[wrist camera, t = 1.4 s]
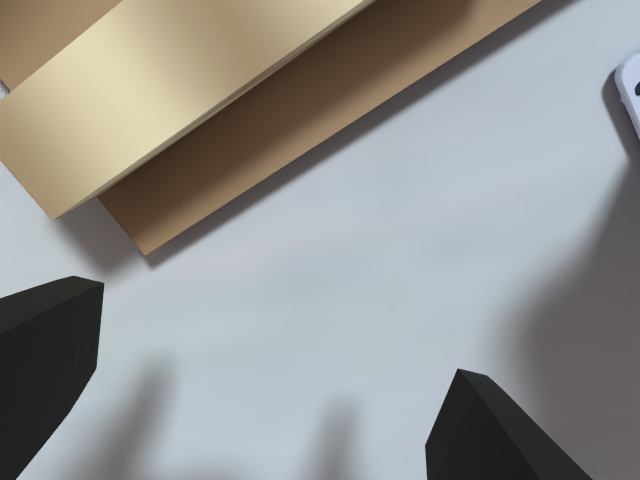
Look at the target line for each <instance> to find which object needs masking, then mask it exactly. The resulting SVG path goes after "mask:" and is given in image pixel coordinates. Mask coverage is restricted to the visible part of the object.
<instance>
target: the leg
mask: <svg viewBox="0 0 640 480" xmlns="http://www.w3.org/2000/svg"><path fill="white" fill-rule="evenodd" d="M375 1H377V0H123V1H121V2H120V3H119V4H118V5H117V6H115V7H114V8H113V9H112V10H110V11H109V12H108V13H107V14H106V15H104V16H103V17H102V18H101V19H99V20H98V21H97V22H96V23H95V24H93V25H92V26H91V27H90V28H88V29H87V30H86V31H85V32H84V33H82V34H81V35H80V36H79V37H77V38H76V39H75V40H74V41H73V42H71V43H70V44H69V45H68V46H66V47H65V48H64V49H63V50H62V51H60V52H59V53H58V54H57V55H55V56H54V57H53V58H52V59H51V60H49V61H48V62H47V63H46V64H44V65H43V66H42V67H41V68H39V69H38V70H37V71H36V72H35V73H33V74H32V75H31V76H30V77H28V78H27V79H26V80H25V81H24V82H22V83H21V84H20V85H19V86H17V87H16V88H15V89H14V90H13V91H11V92H10V93H9V94H8V95H6V96H5V97H4V98H3V99H2V100H0V161H1V162H2V163H3V164H4V165H5V167H6V168H7V169H8V170H9V171H10V172H11V174H12V175H13V176H14V177H15V178H16V179H17V180H18V182H19V183H20V184H21V185H22V186H23V187H24V189H25V190H26V191H27V192H28V193H29V194H30V196H31V197H32V198H33V199H34V200H35V201H36V203H37V204H38V205H39V206H40V207H41V208H42V210H43V211H44V212H45V213H46V214H47V215H48V216H49V218H50V219H51V220H52V221H53V220H55V219H57V218H58V217H60V216H62V215H64V214H66V213H67V212H69V211H71V210H73V209H75V208H76V207H78V206H80V205H82V204H84V203H85V202H87V201H89V200H91V199H93V198H94V197H96V196H98V195H100V194H102V193H103V192H105V191H106V190H108V189H109V188H111V187H112V186H113V185H115V184H116V183H118V182H119V181H121V180H122V179H123V178H125V177H126V176H128V175H129V174H131V173H132V172H133V171H135V170H136V169H138V168H139V167H141V166H142V165H143V164H145V163H146V162H148V161H149V160H150V159H152V158H153V157H155V156H156V155H158V154H159V153H160V152H162V151H163V150H165V149H166V148H168V147H169V146H170V145H172V144H173V143H175V142H176V141H177V140H179V139H180V138H182V137H183V136H185V135H186V134H187V133H189V132H190V131H192V130H193V129H195V128H196V127H197V126H199V125H200V124H202V123H203V122H205V121H206V120H207V119H209V118H210V117H212V116H213V115H214V114H216V113H217V112H219V111H220V110H222V109H223V108H224V107H226V106H227V105H229V104H230V103H232V102H233V101H234V100H236V99H237V98H239V97H240V96H242V95H243V94H244V93H246V92H247V91H249V90H250V89H251V88H253V87H254V86H256V85H257V84H259V83H260V82H261V81H263V80H264V79H266V78H267V77H269V76H270V75H271V74H273V73H274V72H276V71H277V70H279V69H280V68H281V67H283V66H284V65H286V64H287V63H288V62H290V61H291V60H293V59H294V58H296V57H297V56H298V55H300V54H301V53H303V52H304V51H306V50H307V49H308V48H310V47H311V46H313V45H314V44H316V43H317V42H318V41H320V40H321V39H323V38H324V37H325V36H327V35H328V34H330V33H331V32H333V31H334V30H335V29H337V28H338V27H340V26H341V25H343V24H344V23H345V22H347V21H348V20H350V19H351V18H353V17H354V16H355V15H357V14H358V13H360V12H361V11H362V10H364V9H365V8H367V7H368V6H370V5H371V4H372V3H374V2H375Z"/></svg>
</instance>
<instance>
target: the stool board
mask: <svg viewBox="0 0 640 480" xmlns="http://www.w3.org/2000/svg"><path fill="white" fill-rule="evenodd" d="M121 1H123V0H0V79H1V80H2V81H3V82H4V84H5V85H6V86H7V87H8V88H9V90H10V91H13V90H14V89H15V88H16V87H17V86H19V85H20V84H21V83H22V82H24V81H25V80H26V79H27V78H28V77H30V76H31V75H32V74H33V73H35V72H36V71H37V70H38V69H39V68H41V67H42V66H43V65H44V64H46V63H47V62H48V61H49V60H51V59H52V58H53V57H54V56H55V55H57V54H58V53H59V52H60V51H62V50H63V49H64V48H65V47H66V46H68V45H69V44H70V43H71V42H73V41H74V40H75V39H76V38H77V37H79V36H80V35H81V34H82V33H84V32H85V31H86V30H87V29H88V28H90V27H91V26H92V25H93V24H95V23H96V22H97V21H98V20H99V19H101V18H102V17H103V16H104V15H106V14H107V13H108V12H109V11H110V10H112V9H113V8H114V7H115V6H117V5H118V4H119V3H120V2H121ZM540 1H541V0H377V1H375V2H374V3H372V4H371V5H370V6H368V7H367V8H365V9H364V10H362V11H361V12H360V13H358V14H357V15H355V16H354V17H353V18H351V19H350V20H348V21H347V22H345V23H344V24H343V25H341V26H340V27H338V28H337V29H335V30H334V31H333V32H331V33H330V34H328V35H327V36H325V37H324V38H323V39H321V40H320V41H318V42H317V43H316V44H314V45H313V46H311V47H310V48H308V49H307V50H306V51H304V52H303V53H301V54H300V55H298V56H297V57H296V58H294V59H293V60H291V61H290V62H288V63H287V64H286V65H284V66H283V67H281V68H280V69H279V70H277V71H276V72H274V73H273V74H271V75H270V76H269V77H267V78H266V79H264V80H263V81H261V82H260V83H259V84H257V85H256V86H254V87H253V88H251V89H250V90H249V91H247V92H246V93H244V94H243V95H242V96H240V97H239V98H237V99H236V100H234V101H233V102H232V103H230V104H229V105H227V106H226V107H224V108H223V109H222V110H220V111H219V112H217V113H216V114H214V115H213V116H212V117H210V118H209V119H207V120H206V121H205V122H203V123H202V124H200V125H199V126H197V127H196V128H195V129H193V130H192V131H190V132H189V133H187V134H186V135H185V136H183V137H182V138H180V139H179V140H177V141H176V142H175V143H173V144H172V145H170V146H169V147H168V148H166V149H165V150H163V151H162V152H160V153H159V154H158V155H156V156H155V157H153V158H152V159H150V160H149V161H148V162H146V163H145V164H143V165H142V166H141V167H139V168H138V169H136V170H135V171H133V172H132V173H131V174H129V175H128V176H126V177H125V178H123V179H122V180H121V181H119V182H118V183H116V184H115V185H113V186H112V187H111V188H109V189H108V190H106V191H105V192H103V193H102V194H100V195H98V196H97V197H98V199H99V200H100V201H101V202H102V204H103V205H104V206H105V207H106V209H107V210H108V211H109V212H110V213H111V215H112V216H113V217H114V218H115V220H116V221H117V222H118V223H119V224H120V226H121V227H122V228H123V229H124V231H125V232H126V233H127V234H128V235H129V237H130V238H131V239H132V240H133V242H134V243H135V244H136V245H137V246H138V248H139V249H140V250H141V251H142V253H143V254H144V255H145V256H146V255H147V254H149V253H150V252H152V251H153V250H155V249H156V248H158V247H160V246H161V245H163V244H164V243H166V242H167V241H169V240H170V239H172V238H174V237H175V236H177V235H178V234H180V233H181V232H183V231H184V230H186V229H187V228H189V227H191V226H192V225H194V224H195V223H197V222H198V221H200V220H201V219H203V218H205V217H206V216H208V215H209V214H211V213H212V212H214V211H215V210H217V209H219V208H220V207H222V206H223V205H225V204H226V203H228V202H229V201H231V200H232V199H234V198H236V197H237V196H239V195H240V194H242V193H243V192H245V191H246V190H248V189H250V188H251V187H253V186H254V185H256V184H257V183H259V182H260V181H262V180H264V179H265V178H267V177H268V176H270V175H271V174H273V173H274V172H276V171H277V170H279V169H281V168H282V167H284V166H285V165H287V164H288V163H290V162H291V161H293V160H295V159H296V158H298V157H299V156H301V155H302V154H304V153H305V152H307V151H309V150H310V149H312V148H313V147H315V146H316V145H318V144H319V143H321V142H322V141H324V140H326V139H327V138H329V137H330V136H332V135H333V134H335V133H336V132H338V131H340V130H341V129H343V128H344V127H346V126H347V125H349V124H350V123H352V122H354V121H355V120H357V119H358V118H360V117H361V116H363V115H364V114H366V113H367V112H369V111H371V110H372V109H374V108H375V107H377V106H378V105H380V104H381V103H383V102H385V101H386V100H388V99H389V98H391V97H392V96H394V95H395V94H397V93H399V92H400V91H402V90H403V89H405V88H406V87H408V86H409V85H411V84H412V83H414V82H416V81H417V80H419V79H420V78H422V77H423V76H425V75H426V74H428V73H430V72H431V71H433V70H434V69H436V68H437V67H439V66H440V65H442V64H444V63H445V62H447V61H448V60H450V59H451V58H453V57H454V56H456V55H457V54H459V53H461V52H462V51H464V50H465V49H467V48H468V47H470V46H471V45H473V44H475V43H476V42H478V41H479V40H481V39H482V38H484V37H485V36H487V35H489V34H490V33H492V32H493V31H495V30H496V29H498V28H499V27H501V26H503V25H504V24H506V23H507V22H509V21H510V20H512V19H513V18H515V17H516V16H518V15H520V14H521V13H523V12H524V11H526V10H527V9H529V8H530V7H532V6H534V5H535V4H537V3H538V2H540Z"/></svg>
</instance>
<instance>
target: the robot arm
mask: <svg viewBox="0 0 640 480" xmlns="http://www.w3.org/2000/svg"><path fill="white" fill-rule="evenodd" d="M639 82H640V51H639V52H637V53H635V54H634V55H632V56H630V57H628V58H627V59H625V60H624V61H623V62H622V63H620V64H619V66H618V68H617V69H616V72H615V83H616V85H617V88H618V90H619V92H620V95H621V97H622V99H623V102H624V104H625V106H626V109H627V111H628V113H629V116H630V118H631V120H632V123H633V125H634V127H635V130H636V132H637V135H638V137H639V139H640V95H639V96H637V95H636V94H635V87H636V85H637V84H638V83H639ZM103 293H104V283H102V282H98V281H93V280H89V279H85V278H81V277H77V276H70V277H66V278H62V279H59V280H55V281H52V282H49V283H46V284H42V285H39V286H36V287H33V288H30V289H27V290H24V291H21V292H18V293H15V294H12V295H9V296H6V297H3V298H0V480H16V479H17V477H18V476H19V475H20V474H21V473H22V471H23V470H24V469H25V468H26V466H27V465H28V464H29V463H30V461H31V460H32V459H33V458H34V456H35V455H36V454H37V453H38V451H39V450H40V449H41V448H42V447H43V445H44V444H45V443H46V441H47V440H48V439H49V438H50V436H51V435H52V434H53V433H54V431H55V430H56V429H57V428H58V426H59V425H60V424H61V423H62V421H63V420H64V419H65V417H66V416H67V415H68V414H69V412H70V411H71V409H72V408H73V406H74V404H75V403H76V401H77V400H78V398H79V396H80V395H81V393H82V392H83V390H84V388H85V387H86V385H87V383H88V382H89V380H90V378H91V377H92V375H93V373H94V372H95V370H96V366H97V356H98V345H99V335H100V324H101V314H102V303H103ZM425 451H426V467H427V480H593V479H592V478H590V477H589V476H588V475H587V474H586V473H585V472H584V471H583V470H582V469H581V468H580V467H579V466H578V465H577V464H576V463H575V462H574V461H573V460H572V459H571V458H570V457H569V456H568V455H567V454H566V453H565V452H564V451H563V450H562V449H561V448H560V447H559V446H558V445H557V444H556V443H555V442H554V441H553V440H552V439H551V438H550V437H549V436H548V435H547V434H546V433H545V432H544V431H543V430H542V429H541V428H540V427H539V426H538V425H537V424H536V423H535V422H534V421H533V420H532V419H531V418H530V417H529V416H528V415H527V414H526V413H525V412H524V411H523V410H522V409H521V408H520V407H519V406H518V404H517V403H516V402H515V401H514V400H513V399H512V398H511V397H510V396H509V395H508V394H507V393H506V392H505V391H503V390H502V389H501V388H500V387H499V386H498V385H497V384H496V383H495V382H494V381H493V380H492V379H490V378H489V377H488V376H487V375H483V374H479V373H474V372H470V371H466V370H462V369H457V371H456V374H455V376H454V378H453V381H452V383H451V386H450V388H449V390H448V393H447V395H446V397H445V400H444V402H443V404H442V407H441V409H440V412H439V414H438V416H437V419H436V421H435V423H434V426H433V428H432V430H431V433H430V435H429V438H428V440H427V442H426V445H425Z"/></svg>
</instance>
